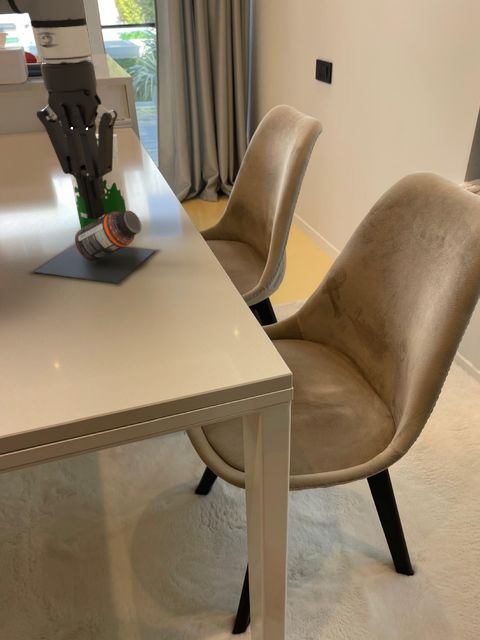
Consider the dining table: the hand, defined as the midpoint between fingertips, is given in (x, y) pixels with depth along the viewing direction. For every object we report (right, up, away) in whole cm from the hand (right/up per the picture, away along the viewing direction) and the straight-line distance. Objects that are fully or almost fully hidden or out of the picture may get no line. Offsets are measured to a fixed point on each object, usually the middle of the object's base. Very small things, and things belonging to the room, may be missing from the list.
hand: (96, 215), depth 95 cm
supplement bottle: (-3, -5, +4) cm, 7 cm away
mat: (-1, -7, +5) cm, 9 cm away
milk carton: (-4, +1, +19) cm, 19 cm away
